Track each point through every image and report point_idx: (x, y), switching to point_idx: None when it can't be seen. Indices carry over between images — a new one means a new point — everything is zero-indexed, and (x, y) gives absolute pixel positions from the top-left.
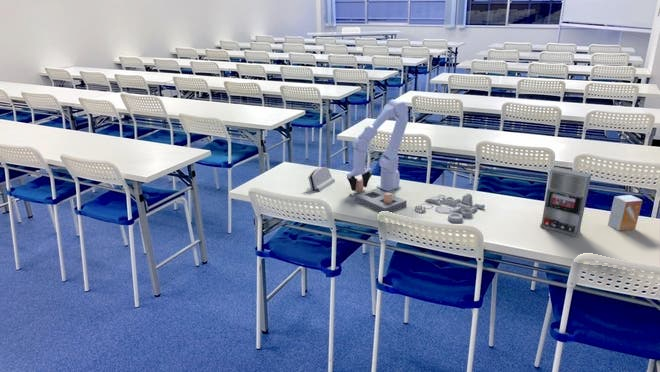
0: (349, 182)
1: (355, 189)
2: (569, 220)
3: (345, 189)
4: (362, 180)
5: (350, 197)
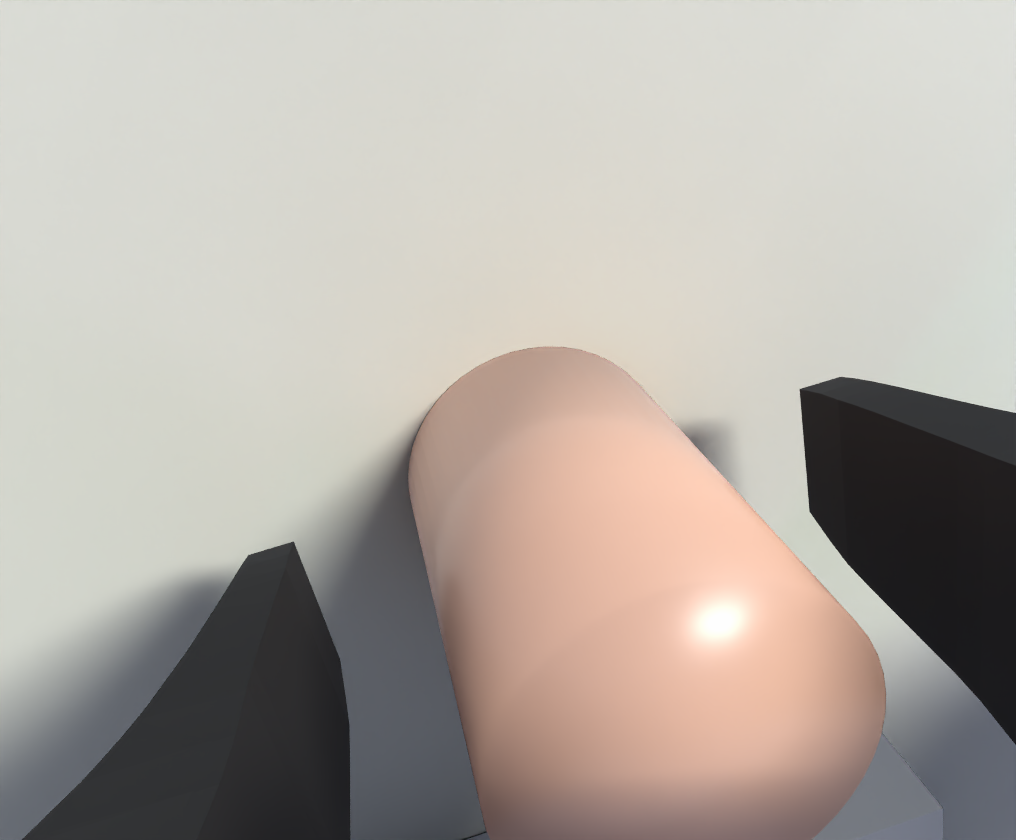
0: (91, 795)
1: (420, 530)
2: None
3: (167, 71)
4: (811, 803)
5: (81, 779)
